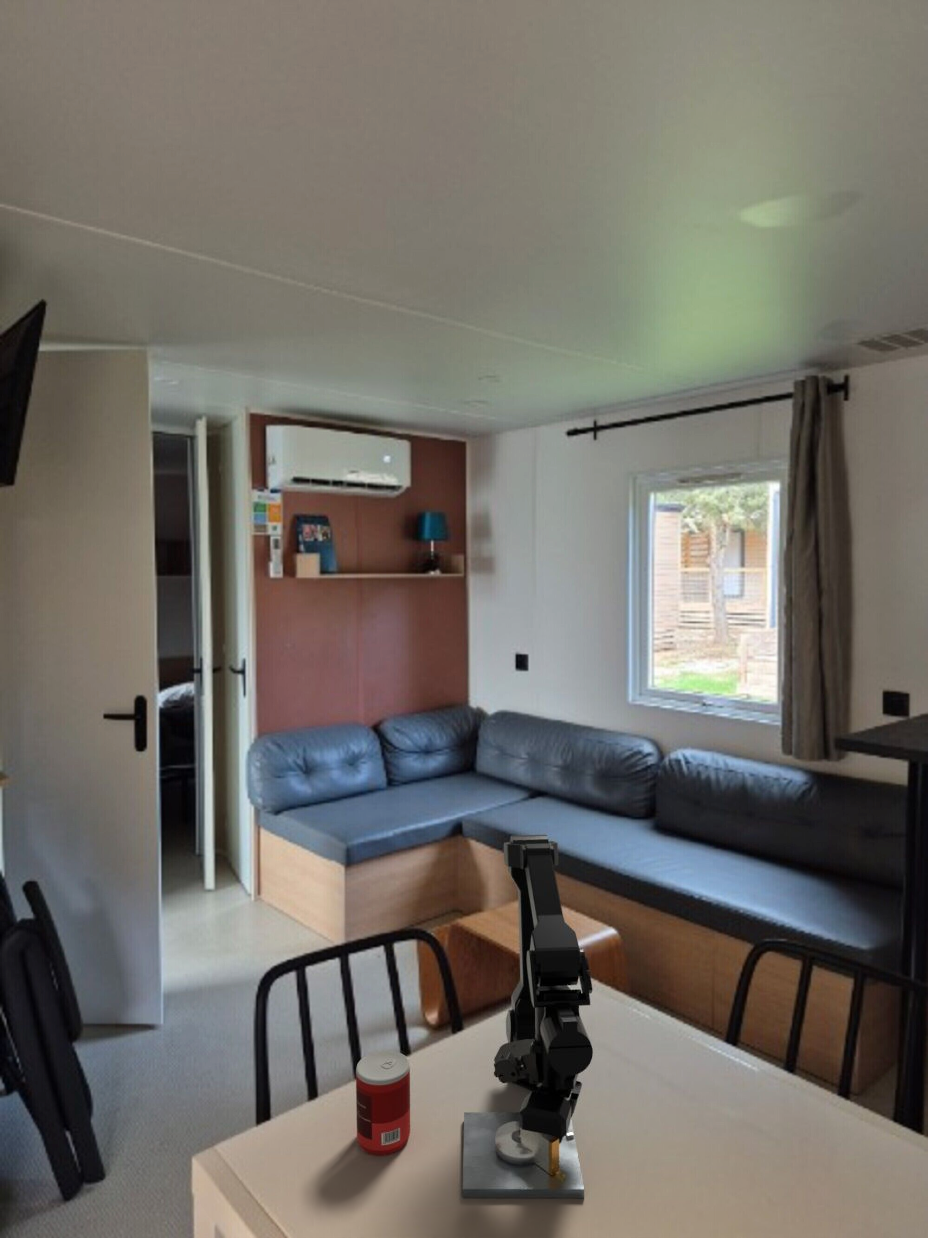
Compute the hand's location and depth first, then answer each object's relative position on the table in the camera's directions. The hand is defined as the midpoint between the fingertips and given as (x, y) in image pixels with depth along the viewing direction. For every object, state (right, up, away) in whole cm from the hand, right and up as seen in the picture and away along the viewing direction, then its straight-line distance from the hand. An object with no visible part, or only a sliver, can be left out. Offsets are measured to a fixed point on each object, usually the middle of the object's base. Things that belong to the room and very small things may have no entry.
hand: (557, 1142), depth 113 cm
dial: (-4, -2, +1) cm, 5 cm away
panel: (-5, -4, +2) cm, 6 cm away
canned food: (-25, -4, +6) cm, 26 cm away
